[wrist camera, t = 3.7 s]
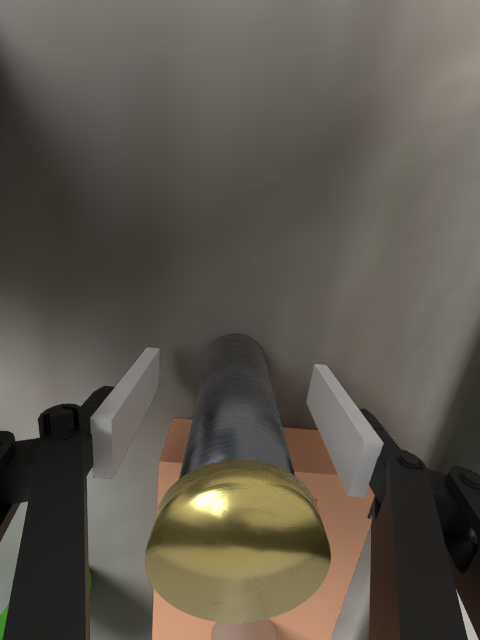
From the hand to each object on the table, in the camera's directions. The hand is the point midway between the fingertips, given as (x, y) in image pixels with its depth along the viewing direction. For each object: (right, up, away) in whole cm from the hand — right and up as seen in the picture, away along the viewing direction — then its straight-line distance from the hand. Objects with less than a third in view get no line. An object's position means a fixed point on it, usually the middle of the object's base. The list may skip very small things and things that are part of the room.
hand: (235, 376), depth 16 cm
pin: (0, +1, +2) cm, 2 cm away
